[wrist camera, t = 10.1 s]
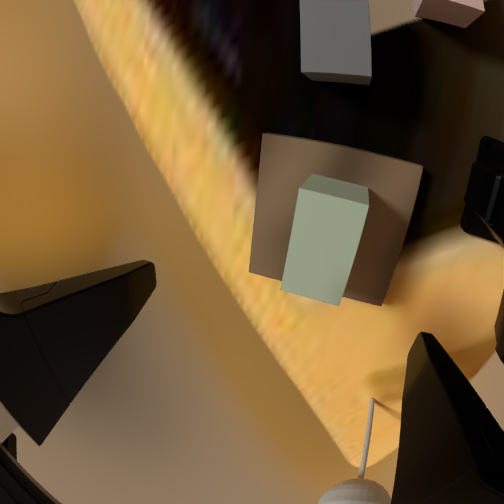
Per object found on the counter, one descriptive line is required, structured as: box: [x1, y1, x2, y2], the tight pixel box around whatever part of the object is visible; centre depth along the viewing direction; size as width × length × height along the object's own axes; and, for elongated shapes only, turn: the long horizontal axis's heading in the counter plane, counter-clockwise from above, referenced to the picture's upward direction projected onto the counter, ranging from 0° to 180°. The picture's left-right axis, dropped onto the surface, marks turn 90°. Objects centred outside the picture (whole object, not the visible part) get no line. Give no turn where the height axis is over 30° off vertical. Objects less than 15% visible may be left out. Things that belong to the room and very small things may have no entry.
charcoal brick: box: [300, 0, 371, 85], centre depth 13 cm, size 4×6×4 cm, turn 0°
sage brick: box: [280, 174, 369, 306], centre depth 17 cm, size 4×6×4 cm, turn 173°
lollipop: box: [318, 399, 391, 504], centre depth 19 cm, size 6×6×15 cm
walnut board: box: [249, 133, 423, 306], centre depth 19 cm, size 10×10×1 cm
